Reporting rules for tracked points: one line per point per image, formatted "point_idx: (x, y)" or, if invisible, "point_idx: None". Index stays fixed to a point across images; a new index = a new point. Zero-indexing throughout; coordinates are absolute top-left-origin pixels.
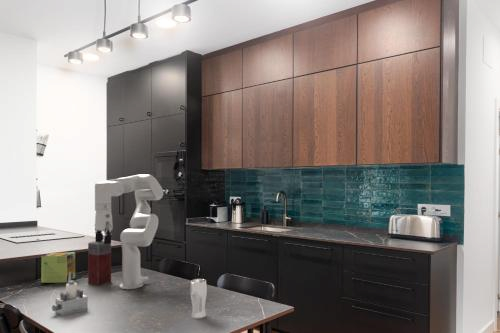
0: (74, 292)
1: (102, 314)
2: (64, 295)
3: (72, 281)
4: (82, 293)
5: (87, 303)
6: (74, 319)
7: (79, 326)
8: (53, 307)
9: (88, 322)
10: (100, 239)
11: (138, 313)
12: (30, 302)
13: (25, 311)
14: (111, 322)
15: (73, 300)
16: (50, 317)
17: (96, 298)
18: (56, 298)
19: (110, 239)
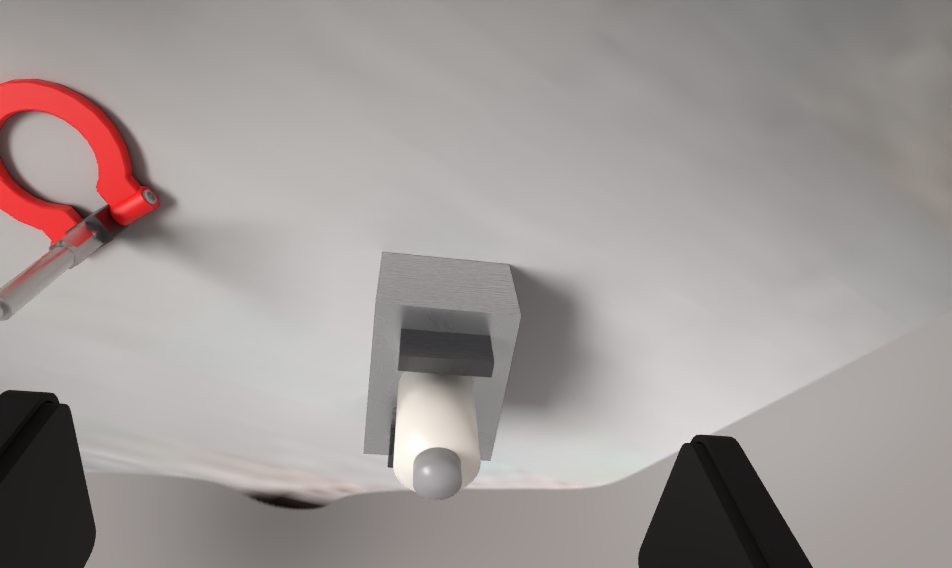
0: (475, 412)
1: (682, 251)
2: None
3: (454, 481)
4: (492, 353)
5: (513, 286)
6: (599, 381)
7: (718, 408)
8: None
9: (715, 360)
10: (51, 492)
11: (916, 93)
12: None
13: (215, 477)
14: (845, 290)
15: (502, 397)
16: None
17: (284, 73)
18: (372, 451)
19: (774, 537)
